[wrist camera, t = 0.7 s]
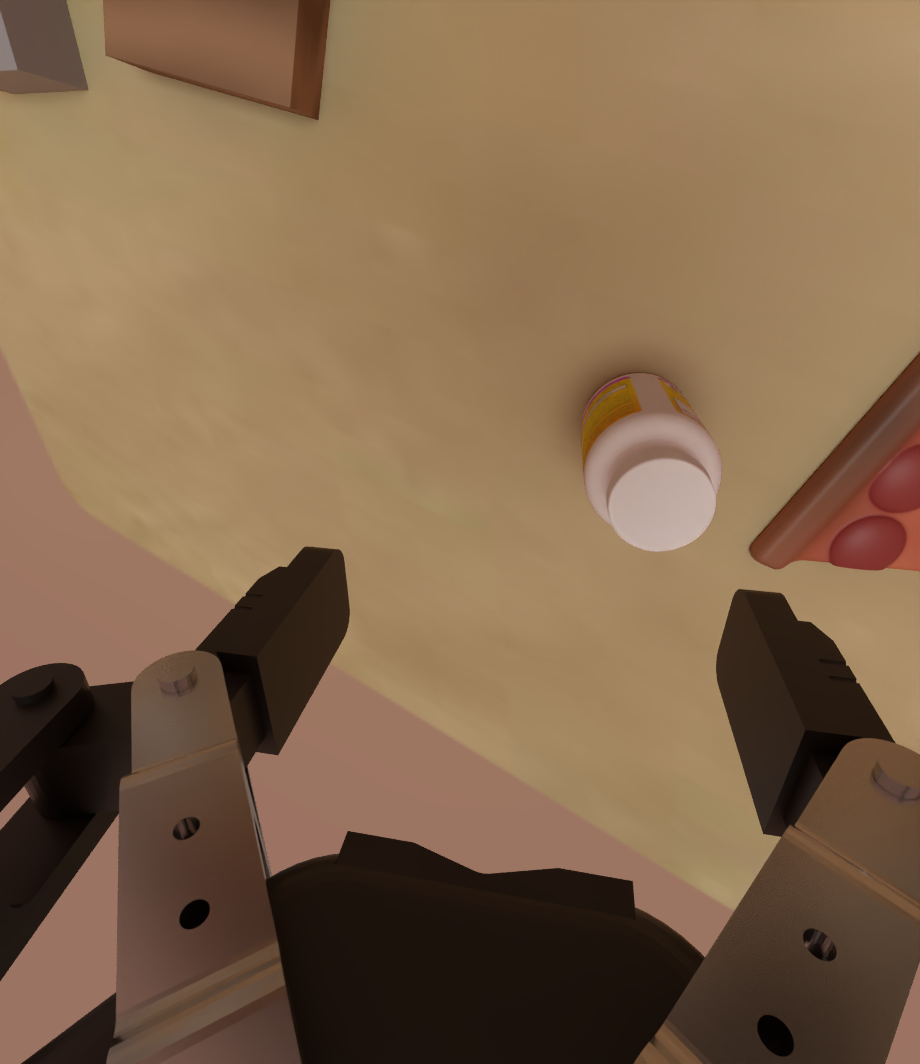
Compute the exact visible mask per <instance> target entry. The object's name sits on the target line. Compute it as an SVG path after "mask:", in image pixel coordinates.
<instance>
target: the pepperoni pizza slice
mask: <svg viewBox="0 0 920 1064" xmlns="http://www.w3.org/2000/svg"><path fill="white" fill-rule="evenodd" d="M750 552H751V555H752V557H753V558H754V559H755V560H756V561H757V562H759V563H761V564H763V565H766V566H768V567H771V568H773V569H781V568H783V567H785V566H786V565H788V564H789V563H791V562H793V561H798V560H809V561H819V562H829V563H831V564H832V565H835V566H839V567H845V568H852V569H862V570H883V569H885V568H893V569H903V570H914V571H920V354H919V355H918V356H917V357H916V359H915V360H914V361H913V362H912V363H911V364H910V365H909V367H908V368H907V369H906V370H905V371H904V372H903V373H902V374H901V376H900V377H899V378H898V379H897V380H896V381H895V382H894V384H893V385H892V386H891V387H890V388H889V389H888V390H887V391H886V393H885V394H884V395H883V396H882V397H881V398H880V399H879V401H878V402H877V403H876V404H875V405H874V406H873V407H872V408H871V410H870V411H869V412H868V413H867V414H866V415H865V416H864V418H863V419H862V420H861V421H860V422H859V423H858V424H857V425H856V427H855V428H854V429H853V430H852V431H851V432H850V433H849V435H848V436H847V437H846V438H845V439H844V440H843V441H842V442H841V444H840V445H839V446H838V447H837V448H836V449H835V450H834V452H833V453H832V454H831V455H830V456H829V457H828V458H827V459H826V461H825V462H824V463H823V464H822V465H821V466H820V467H819V469H818V470H817V471H816V472H815V473H814V474H813V475H812V476H811V478H810V479H809V480H808V481H807V482H806V483H805V484H804V486H803V487H802V488H801V489H800V490H799V491H798V492H797V493H796V495H795V496H794V497H793V498H792V499H791V500H790V501H789V503H788V504H787V505H786V506H785V507H784V508H783V509H782V510H781V512H780V513H779V514H778V515H777V516H776V517H775V518H774V520H773V521H772V522H771V523H770V524H769V525H768V526H767V527H766V529H765V530H764V531H763V532H762V533H761V534H760V535H759V537H758V538H757V539H756V540H755V541H754V542H753V544H752V545H751V549H750Z"/></svg>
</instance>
